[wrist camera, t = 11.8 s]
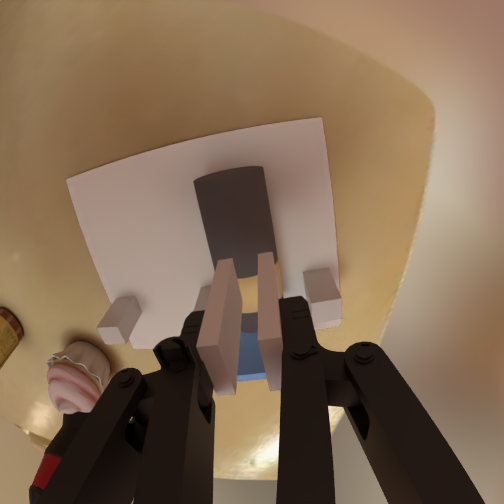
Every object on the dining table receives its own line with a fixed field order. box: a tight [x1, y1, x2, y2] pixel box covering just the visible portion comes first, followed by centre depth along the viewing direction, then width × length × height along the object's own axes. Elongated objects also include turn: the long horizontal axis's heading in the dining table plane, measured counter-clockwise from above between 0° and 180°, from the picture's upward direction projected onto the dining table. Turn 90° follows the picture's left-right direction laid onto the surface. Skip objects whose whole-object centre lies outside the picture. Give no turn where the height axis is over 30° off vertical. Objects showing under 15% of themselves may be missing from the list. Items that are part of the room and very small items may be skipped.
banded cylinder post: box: [193, 166, 284, 333], centre depth 23 cm, size 12×5×5 cm, turn 10°
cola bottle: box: [29, 411, 90, 504], centre depth 25 cm, size 8×8×30 cm
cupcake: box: [46, 341, 110, 414], centre depth 29 cm, size 9×9×10 cm
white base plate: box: [66, 117, 342, 382], centre depth 24 cm, size 20×23×7 cm
